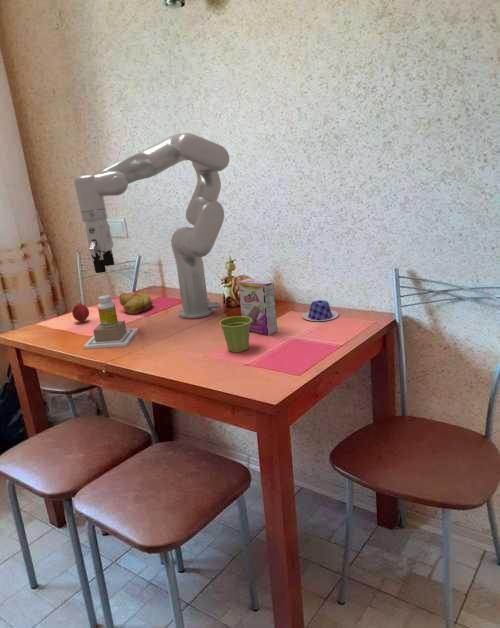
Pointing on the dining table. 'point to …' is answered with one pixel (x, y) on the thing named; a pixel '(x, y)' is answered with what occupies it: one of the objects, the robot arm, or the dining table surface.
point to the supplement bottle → (107, 312)
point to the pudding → (320, 311)
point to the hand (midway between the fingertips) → (105, 268)
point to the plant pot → (236, 332)
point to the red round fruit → (80, 312)
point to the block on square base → (111, 336)
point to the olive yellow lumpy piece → (135, 302)
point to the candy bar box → (258, 305)
